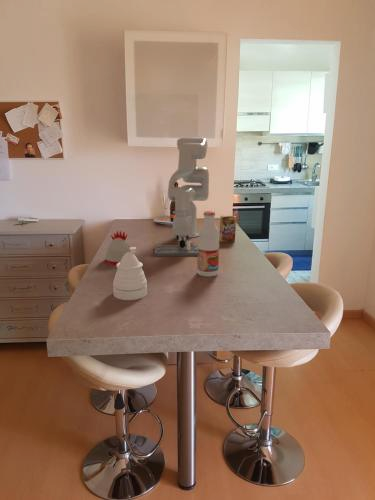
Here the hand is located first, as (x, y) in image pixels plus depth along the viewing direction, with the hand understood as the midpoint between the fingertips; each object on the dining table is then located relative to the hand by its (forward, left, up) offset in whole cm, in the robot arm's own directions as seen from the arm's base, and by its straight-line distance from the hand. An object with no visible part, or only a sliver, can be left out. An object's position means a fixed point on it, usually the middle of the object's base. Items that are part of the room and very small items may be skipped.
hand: (182, 247), depth 205 cm
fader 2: (0, +3, -1) cm, 4 cm away
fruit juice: (+34, +9, -3) cm, 35 cm away
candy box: (-24, +28, -3) cm, 37 cm away
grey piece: (+13, -32, -3) cm, 34 cm away
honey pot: (+56, -24, -3) cm, 61 cm away
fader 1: (-7, -1, -1) cm, 7 cm away
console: (-2, -3, -3) cm, 4 cm away
